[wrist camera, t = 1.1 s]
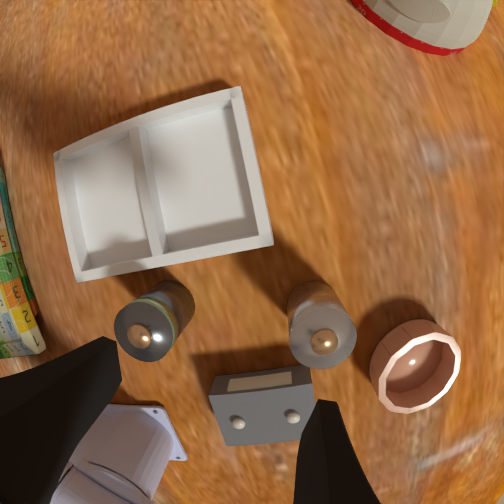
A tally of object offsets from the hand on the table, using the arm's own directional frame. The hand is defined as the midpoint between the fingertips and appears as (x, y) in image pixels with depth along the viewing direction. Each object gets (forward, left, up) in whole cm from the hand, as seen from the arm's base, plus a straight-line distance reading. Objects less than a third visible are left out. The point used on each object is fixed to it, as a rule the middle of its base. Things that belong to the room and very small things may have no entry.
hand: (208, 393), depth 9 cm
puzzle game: (-28, +6, -14) cm, 32 cm away
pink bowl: (+13, -10, -14) cm, 21 cm away
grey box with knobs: (0, -11, -14) cm, 17 cm away
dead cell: (+5, -3, -14) cm, 15 cm away
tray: (-5, +8, -14) cm, 17 cm away
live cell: (-6, -1, -14) cm, 15 cm away
